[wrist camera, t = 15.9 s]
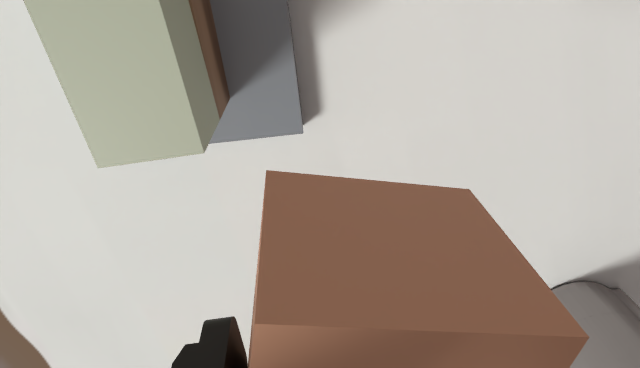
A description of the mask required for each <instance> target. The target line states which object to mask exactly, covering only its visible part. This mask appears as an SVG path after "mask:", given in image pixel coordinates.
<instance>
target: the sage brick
mask: <svg viewBox="0 0 640 368" xmlns="http://www.w3.org/2000/svg"><path fill="white" fill-rule="evenodd" d="M23 1H24V3H25V5H26V8H27V10H28V12H29V14H30V17H31V19H32V21H33V23H34V26H35V28H36V30H37V32H38V34H39V37H40V39H41V41H42V43H43V46H44V48H45V50H46V52H47V55H48V57H49V59H50V61H51V64H52V66H53V68H54V70H55V73H56V75H57V77H58V79H59V82H60V84H61V86H62V88H63V91H64V93H65V95H66V97H67V100H68V102H69V104H70V106H71V109H72V111H73V113H74V115H75V118H76V120H77V122H78V124H79V127H80V129H81V131H82V133H83V136H84V138H85V140H86V142H87V145H88V147H89V149H90V151H91V154H92V156H93V158H94V160H95V163H96V165H97V167H98V168H103V167H110V166H117V165H124V164H131V163H138V162H145V161H153V160H160V159H167V158H174V157H181V156H188V155H195V154H202V153H204V152H205V150H206V148H207V146H208V144H209V142H210V140H211V138H212V136H213V133H214V131H215V129H216V127H217V125H218V123H219V121H220V119H219V115H218V111H217V107H216V103H215V100H214V96H213V92H212V88H211V84H210V81H209V77H208V73H207V69H206V65H205V62H204V58H203V54H202V50H201V46H200V43H199V39H198V35H197V31H196V27H195V24H194V20H193V16H192V12H191V8H190V5H189V1H188V0H23Z"/></svg>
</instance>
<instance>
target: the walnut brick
mask: <svg viewBox="0 0 640 368" xmlns="http://www.w3.org/2000/svg"><path fill="white" fill-rule="evenodd" d="M188 1H189V5H190V8H191V12H192V16H193V20H194V24H195V27H196V31H197V35H198V39H199V43H200V46H201V50H202V54H203V58H204V62H205V65H206V69H207V73H208V77H209V81H210V84H211V88H212V92H213V96H214V100H215V103H216V107H217V111H218V115H219V119H221V117H222V115H223V112H224V110H225V108H226V106H227V104H228V102H229V100H230V95H229V90H228V86H227V81H226V76H225V71H224V66H223V62H222V57H221V52H220V47H219V42H218V38H217V33H216V28H215V23H214V18H213V14H212V9H211V4H210V0H188Z"/></svg>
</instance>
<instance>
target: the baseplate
mask: <svg viewBox="0 0 640 368" xmlns="http://www.w3.org/2000/svg"><path fill="white" fill-rule="evenodd" d="M210 4H211V9H212V14H213V18H214V23H215V28H216V33H217V38H218V42H219V47H220V52H221V57H222V62H223V66H224V71H225V76H226V81H227V86H228V90H229V95H230V100H229V102H228V104H227V106H226V108H225V110H224V112H223V115H222V117H221V119H220V121H219V123H218V125H217V127H216V129H215V131H214V133H213V136H212V138H211V140H210V142H209V144H211V143H220V142H229V141H238V140H247V139H256V138H266V137H275V136H284V135H293V134H302V133H303V122H302V114H301V106H300V98H299V90H298V82H297V74H296V65H295V57H294V49H293V41H292V33H291V25H290V17H289V9H288V0H210Z"/></svg>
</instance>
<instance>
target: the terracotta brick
mask: <svg viewBox="0 0 640 368" xmlns="http://www.w3.org/2000/svg"><path fill="white" fill-rule="evenodd" d="M588 339H589V336H588V335H587V334H586V332H585V331H584V330H583V329H582V328H581V326H580V325H579V324H578V323H577V321H576V320H575V319H574V318H573V316H572V315H571V314H570V313H569V312H568V310H567V309H566V308H565V307H564V305H563V304H562V303H561V302H560V300H559V299H558V298H557V297H556V296H555V294H554V293H553V292H552V291H551V289H550V288H549V287H548V286H547V284H546V283H545V282H544V281H543V280H542V278H541V277H540V276H539V275H538V273H537V272H536V271H535V270H534V268H533V267H532V266H531V265H530V264H529V262H528V261H527V260H526V259H525V257H524V256H523V255H522V254H521V252H520V251H519V250H518V249H517V247H516V246H515V245H514V244H513V243H512V241H511V240H510V239H509V238H508V236H507V235H506V234H505V233H504V231H503V230H502V229H501V228H500V227H499V225H498V224H497V223H496V222H495V220H494V219H493V218H492V217H491V215H490V214H489V213H488V212H487V211H486V209H485V208H484V207H483V206H482V204H481V203H480V202H479V201H478V199H477V198H476V197H475V196H474V195H473V193H472V192H471V191H470V190H469V189H460V188H449V187H439V186H428V185H417V184H407V183H396V182H386V181H375V180H364V179H354V178H343V177H332V176H322V175H311V174H300V173H290V172H279V171H268V170H266V179H265V190H264V200H263V211H262V222H261V232H260V243H259V253H258V264H257V274H256V285H255V296H254V306H253V317H252V327H251V338H250V348H249V359H248V368H570V366H571V365H572V363H573V362H574V360H575V359H576V357H577V356H578V354H579V353H580V351H581V350H582V348H583V347H584V345H585V344H586V342H587V340H588Z"/></svg>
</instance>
